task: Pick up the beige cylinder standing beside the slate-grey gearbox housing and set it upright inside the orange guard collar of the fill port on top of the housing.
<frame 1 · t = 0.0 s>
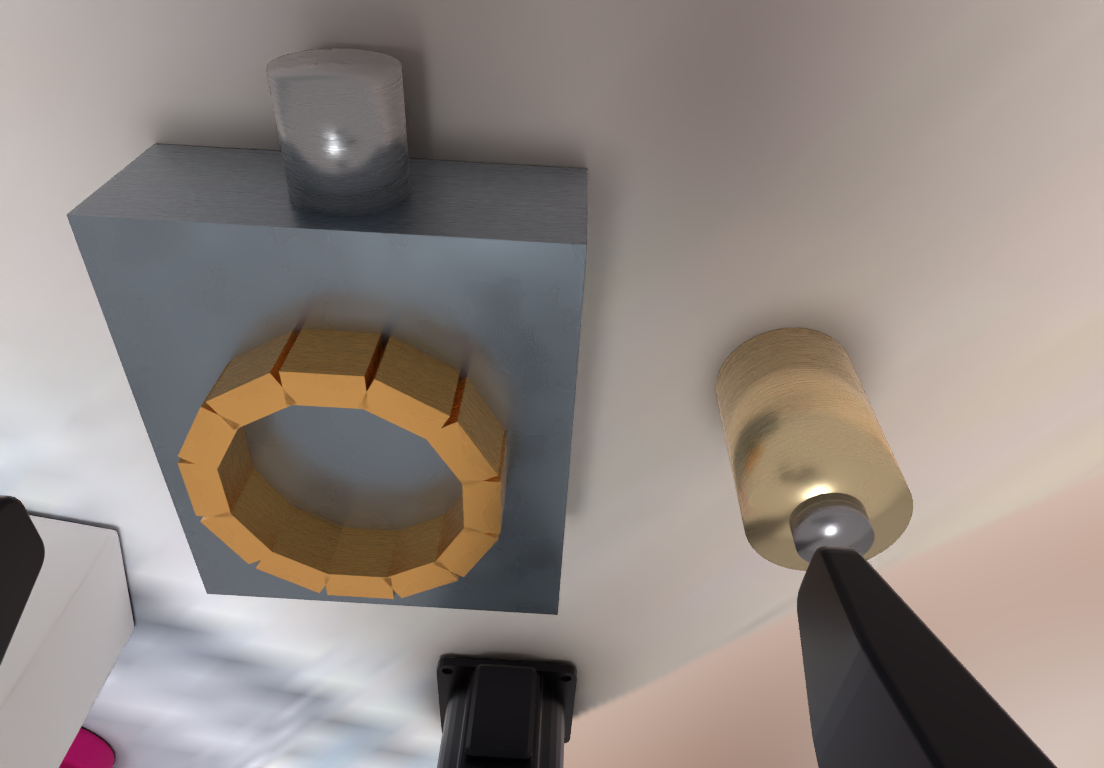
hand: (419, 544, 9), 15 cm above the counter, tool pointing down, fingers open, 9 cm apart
gearbox: (391, 361, 25), on the counter
beige cylinder: (782, 383, 25), on the counter
pepper mill: (59, 742, 43), on the counter
milk carton: (46, 561, 33), on the counter
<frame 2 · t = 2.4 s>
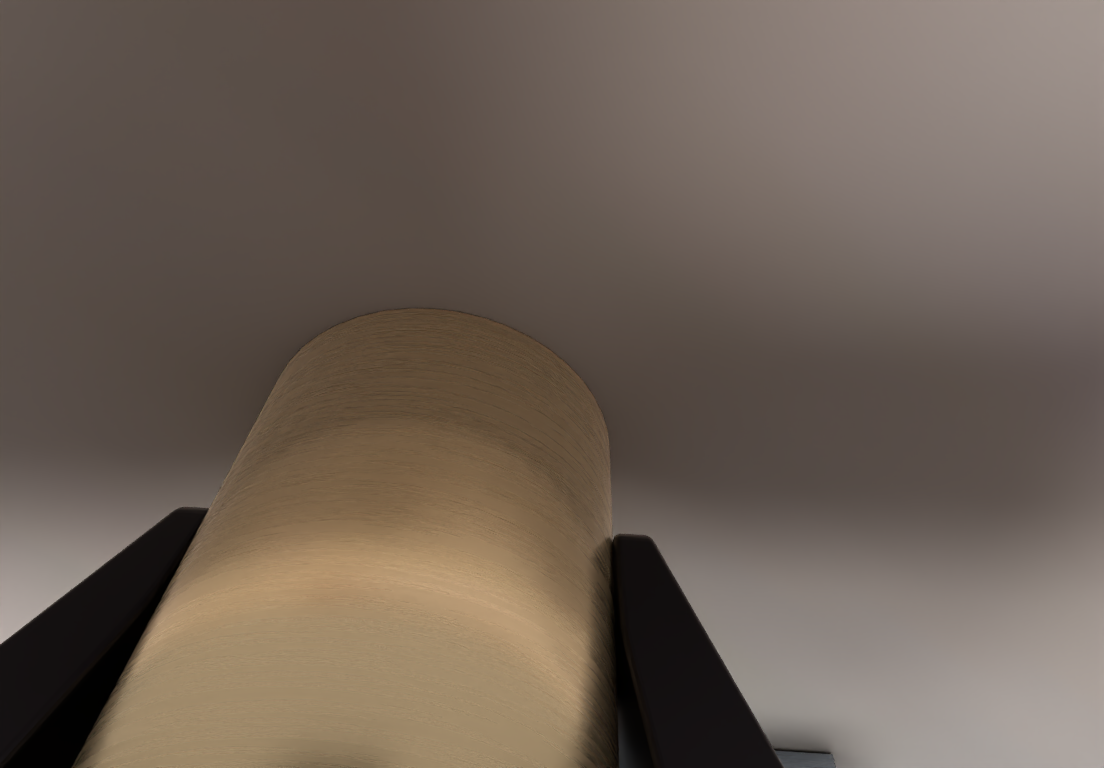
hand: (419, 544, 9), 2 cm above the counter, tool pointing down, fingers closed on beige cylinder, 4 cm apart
beige cylinder: (440, 452, 10), on the counter, touching gripper
when the fingers open (7 cm above the counter, at t = 5.7 s): beige cylinder drops 1 cm, resting on gearbox.
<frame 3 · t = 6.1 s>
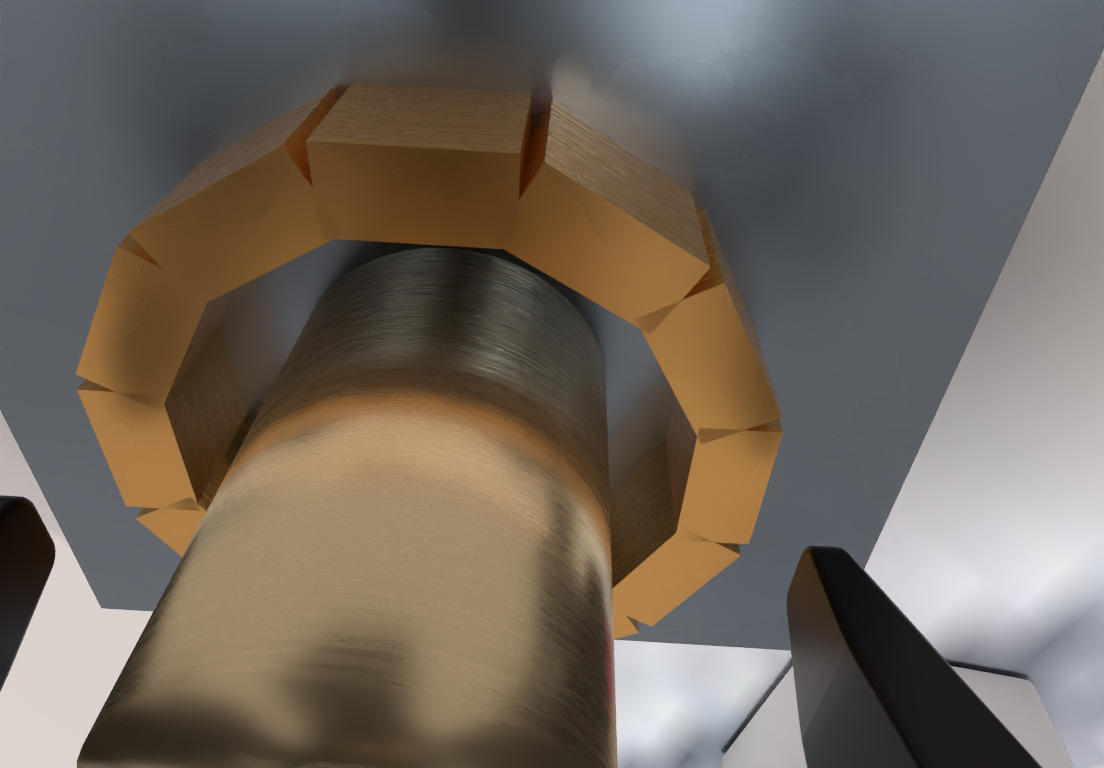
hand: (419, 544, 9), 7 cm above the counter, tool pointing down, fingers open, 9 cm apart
gearbox: (486, 241, 15), on the counter
beige cylinder: (454, 384, 11), point 5 cm above the counter, touching gearbox
milk carton: (862, 710, 25), on the counter
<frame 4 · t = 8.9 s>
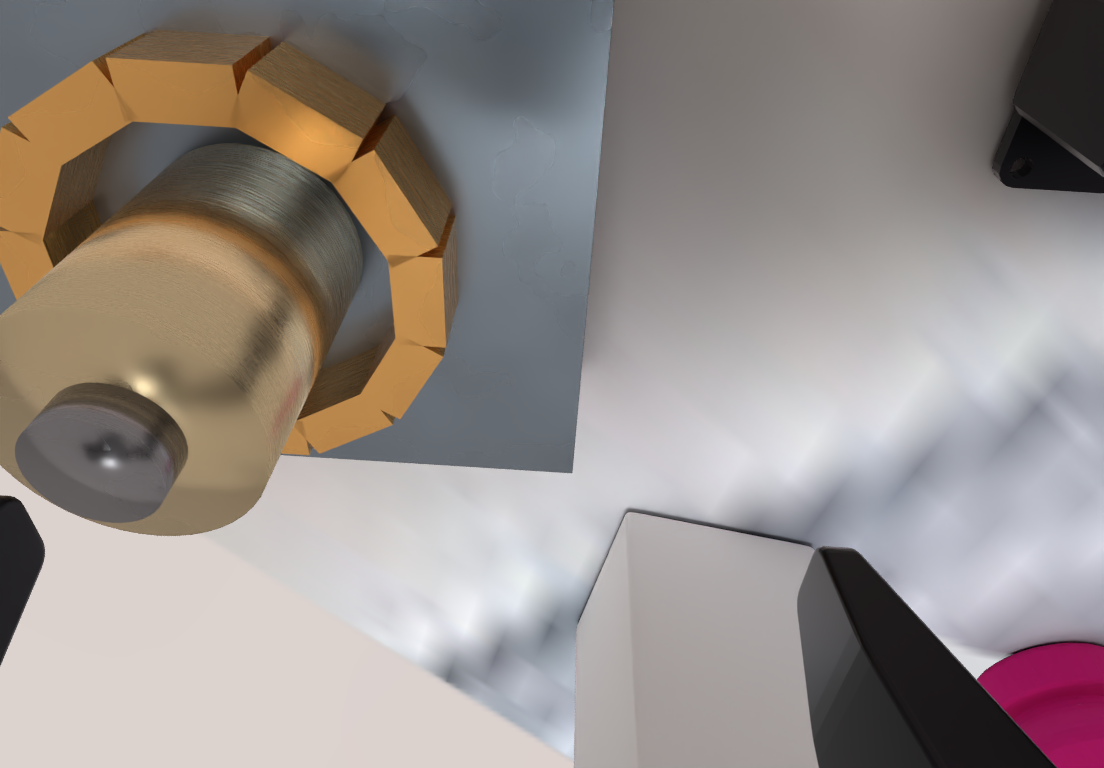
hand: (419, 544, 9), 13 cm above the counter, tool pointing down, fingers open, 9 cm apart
gearbox: (317, 164, 20), on the counter
beige cylinder: (257, 246, 16), point 4 cm above the counter, touching gearbox
pepper mill: (1045, 679, 33), on the counter
milk carton: (687, 581, 30), on the counter
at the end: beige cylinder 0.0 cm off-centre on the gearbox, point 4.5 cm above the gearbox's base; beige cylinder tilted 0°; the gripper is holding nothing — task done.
